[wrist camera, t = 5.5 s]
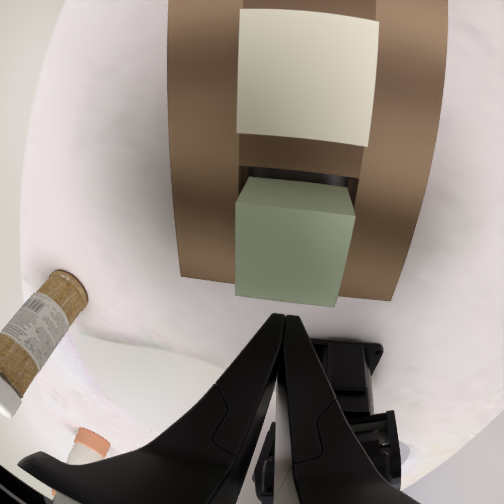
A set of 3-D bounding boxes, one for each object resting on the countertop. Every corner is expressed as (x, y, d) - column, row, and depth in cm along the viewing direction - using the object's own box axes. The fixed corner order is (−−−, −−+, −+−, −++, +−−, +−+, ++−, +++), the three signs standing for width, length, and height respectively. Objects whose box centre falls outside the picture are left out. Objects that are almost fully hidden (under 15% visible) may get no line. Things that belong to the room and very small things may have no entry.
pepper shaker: (74, 423, 49) (40, 495, 33) (103, 435, 48) (70, 512, 32) (87, 437, 53) (58, 504, 37) (114, 449, 52) (86, 519, 36)
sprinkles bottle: (55, 296, 26) (-21, 398, 15) (48, 261, 24) (-44, 368, 13) (91, 314, 26) (18, 428, 15) (87, 279, 24) (-3, 402, 13)
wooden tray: (382, 270, 19) (390, 301, 16) (196, 249, 20) (180, 276, 18) (420, -74, 7) (437, -93, 4) (199, -91, 8) (180, -112, 6)
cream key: (354, 130, 12) (367, 147, 10) (251, 120, 13) (236, 133, 10) (363, 32, 10) (379, 21, 7) (254, 22, 10) (239, 8, 8)
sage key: (331, 268, 16) (334, 307, 13) (246, 258, 16) (235, 295, 14) (346, 187, 13) (355, 216, 11) (249, 176, 14) (235, 202, 11)
